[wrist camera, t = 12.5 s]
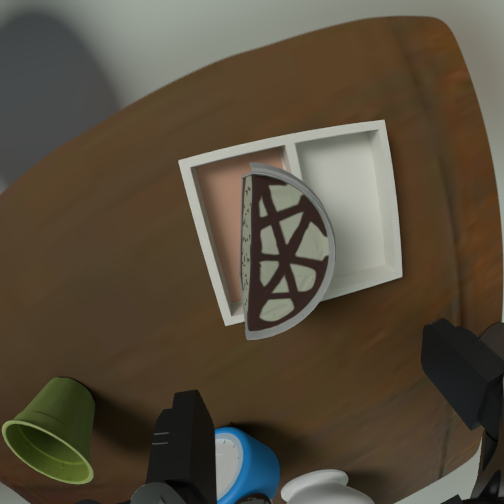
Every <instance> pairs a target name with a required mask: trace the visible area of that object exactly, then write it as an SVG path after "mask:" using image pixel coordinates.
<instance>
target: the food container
mask: <svg viewBox="0 0 504 504" xmlns="http://www.w3.org/2000/svg"><path fill="white" fill-rule="evenodd" d="M250 166H251V169H252V171H251V172H249V173H247V174H244V175H242V176H241V207H240V246H239V280H240V288H241V296H242V304H243V312H244V320H245V327H246V330H245V334H246V338H247V340H256V339H262V338H266V337H271V336H274V335H276V334H279V333H282V332H284V331H286V330H288V329H290V328H291V327H293V326H295V325H296V324H298V323H299V322H300V321H302V320H303V319H304V318H306V317H307V316H308V315H309V314H310V313H311V312H312V311H313V310H314V309H315V307H316V306H317V305H318V303H319V302H320V301H321V299H322V298H323V296H324V294H325V292H326V290H327V289H328V286H329V283H330V281H331V278H332V275H333V271H334V266H335V261H336V242H335V234H334V231H333V227H332V224H331V221H330V219H329V217H328V214H327V212H326V210H325V208H324V206H323V204H322V203H321V201H320V200H319V198H318V197H317V196H316V194H315V193H314V192H313V191H312V190H311V189H310V188H309V187H308V186H307V185H306V184H305V183H304V182H303V181H301V180H300V179H298V178H297V177H296V176H294V175H293V174H291V173H289V172H287V171H285V170H282V169H280V168H278V167H275V166H271V165H267V164H264V163H255V162H250Z"/></svg>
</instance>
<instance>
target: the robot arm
mask: <svg viewBox="0 0 504 504" xmlns="http://www.w3.org/2000/svg"><path fill="white" fill-rule="evenodd" d="M421 363H422V367H423V370H424V372H425V373H426V375H427V376H428V377H429V378H430V380H431V381H432V382H433V383H434V385H435V386H436V387H437V388H438V389H439V391H440V392H441V393H442V394H443V396H444V397H445V398H446V399H447V401H448V402H449V403H450V404H451V406H452V407H453V408H454V410H455V411H456V412H457V413H458V415H459V416H460V417H461V419H462V420H463V421H464V422H465V424H466V425H467V426H468V428H469V429H470V430H471V431H472V430H473V429H475V428H477V427H478V426H480V425H482V426H483V427H484V428H485V429H484V431H483V435H482V446H481V455H480V463H479V470H478V476H477V480H476V483H475V486H474V488H473V491H472V494H471V497H470V499H466V500H461V499H460V497H459V495H458V494H457V495H456V496H454V497H452V498H450V499H449V500H447V501H445V502H443V503H441V504H504V323H503V322H499V323H496V324H494V325H492V326H491V327H490V328H488V329H487V330H486V331H485V332H484V333H483V335H482V336H481V337H480V338H478V337H477V336H476V335H474V334H473V333H472V332H471V331H469V330H467V329H464V328H462V327H459V326H457V327H454V326H453V325H452V324H451V323H450V322H449V321H448V320H446V319H445V318H441V319H439V320H437V321H434V322H432V323H429V324H427V325H425V326H424V329H423V341H422V353H421ZM152 444H153V446H152V447H151V453H150V459H149V465H148V472H147V478H146V483H145V485H143V486H142V487H140V488H139V489H138V490H137V491H136V492H135V493H134V494H133V496H132V498H131V500H128V501H126V502H122V503H118V504H217V486H216V446H215V429H214V424H213V421H212V418H211V416H210V414H209V412H208V410H207V408H206V406H205V404H204V401H203V399H202V397H201V395H200V393H199V391H198V390H190V391H184V392H178V393H175V395H174V399H173V406H172V408H171V409H164V410H163V411H162V413H161V414H160V416H159V417H158V419H157V420H156V424H155V429H154V436H153V441H152ZM75 504H100V503H99V502H97V501H95V500H91V499H85V500H81V501H79V502H77V503H75Z"/></svg>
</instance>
